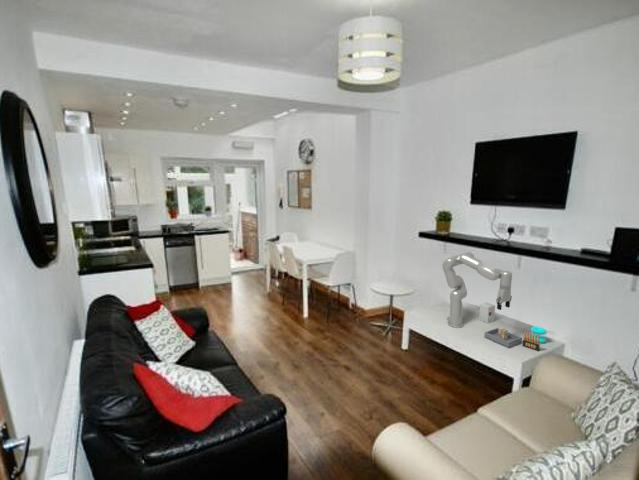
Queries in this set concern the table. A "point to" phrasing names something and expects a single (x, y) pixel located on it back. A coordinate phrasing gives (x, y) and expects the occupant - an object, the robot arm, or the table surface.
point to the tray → (508, 343)
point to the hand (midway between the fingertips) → (503, 308)
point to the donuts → (539, 333)
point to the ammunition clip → (531, 341)
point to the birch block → (503, 333)
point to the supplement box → (487, 312)
